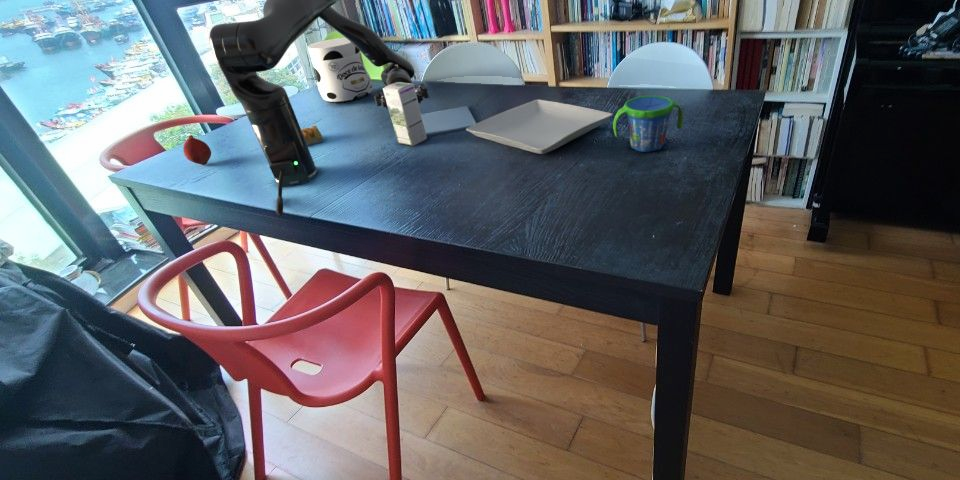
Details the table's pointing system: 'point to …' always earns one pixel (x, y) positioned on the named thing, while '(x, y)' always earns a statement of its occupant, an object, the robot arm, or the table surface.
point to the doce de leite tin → (340, 71)
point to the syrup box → (405, 113)
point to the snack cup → (648, 121)
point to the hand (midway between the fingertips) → (402, 102)
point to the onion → (196, 150)
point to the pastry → (312, 135)
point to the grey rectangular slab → (447, 120)
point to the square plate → (539, 125)
